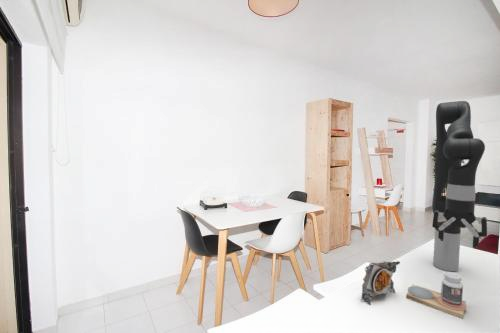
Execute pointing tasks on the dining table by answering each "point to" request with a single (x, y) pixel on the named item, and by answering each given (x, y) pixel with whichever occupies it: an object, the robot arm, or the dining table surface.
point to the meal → (378, 279)
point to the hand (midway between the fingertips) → (457, 243)
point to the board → (435, 303)
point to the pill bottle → (452, 289)
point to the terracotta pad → (452, 306)
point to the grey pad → (420, 292)
